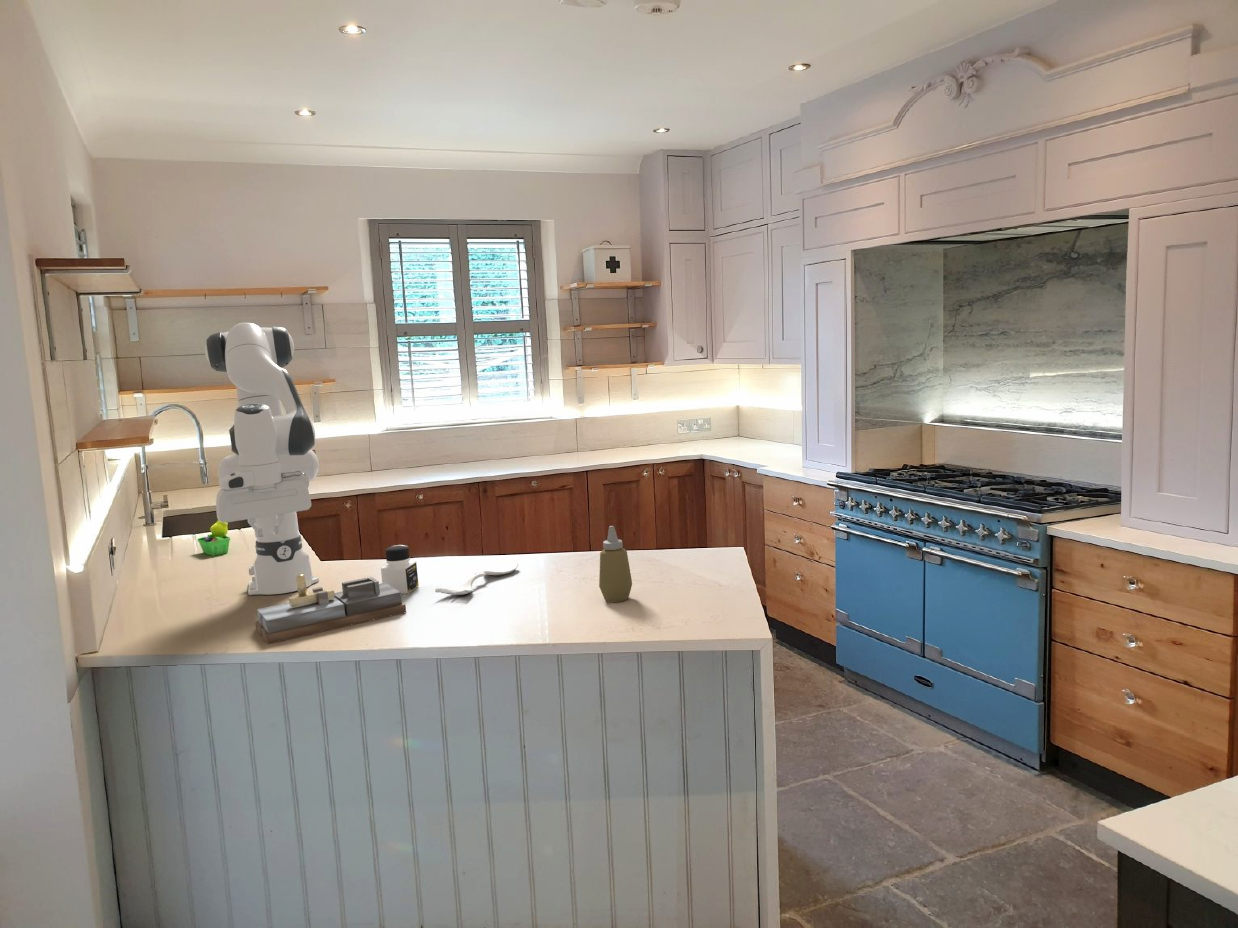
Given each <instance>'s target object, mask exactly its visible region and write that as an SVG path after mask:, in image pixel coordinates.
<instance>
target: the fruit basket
mask: <svg viewBox="0 0 1238 928" xmlns="http://www.w3.org/2000/svg"><path fill="white" fill-rule="evenodd" d="M228 525H229V522H227V523H222V522H221V521H219V520H218V519H217V520H216V522H215V523H213V524H212V525H211V527H209V531H210V533H211V534H207V536H203V537H199V538H197V542H198V543H199V545H200V548H201V550H202V552H203V554H207V555H209V556H211V557H213V556H214V557H215V556H218V555H223V554H227V553H229V547H230V541H231V537H229V536H227V534H228V531H229V528H228Z"/></svg>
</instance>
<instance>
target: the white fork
mask: <svg viewBox="0 0 1238 928" xmlns="http://www.w3.org/2000/svg"><path fill="white" fill-rule="evenodd" d="M518 566H519V563H518V562H517V561H515V560H502V561H499V562H495V563H493V564H490V565H489V566H487V567H486V568H485V569H483V570H482V571H478V572H475V573H474V575H472V576H471V577H470V578H469V579H468V581H466V582H465V584H463V585H462V586H461V585H460V586H459V587H452V588H436V589H435V593H441V594H445V595H451V596H453V595H454V596H465V595H467V594H469V593H471V592H473V587H472V586H473V584H474V582H475V581H476V580H477V579H479V578H481V577H485V576H486V575H489V576H503V575H507V574H509V573H511V572H513V571H515V570H516V569H517V568H518Z"/></svg>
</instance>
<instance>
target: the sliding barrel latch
mask: <svg viewBox="0 0 1238 928" xmlns="http://www.w3.org/2000/svg"><path fill="white" fill-rule="evenodd" d="M379 581H380V580H377V579H375V578H373V577H372V576H368V577H363V578H358V579H352V580H349V581H348V580H347V581H343V582H341V589H342V591H338V592H334V595H335V599H330V600H328V592H327V591H326V590H327V589H323V587H322V586H319V587H313V588H312V593H313V592H317V595H318V602H316V603H311V604H306V605H301V606H297V607H291V606H290V604H289V602H285V603H281V604H276V605H271V606H266V607H260V608H256V616H257V620H255V621H254V623H255V628H256V631H257V632H258V633H259V635H260V636H262V638H263V639H264V640H265V642H267V644H274V643H277V642H278V643H279V642H282V641H286V640H291V639H296V638H299V637H304V636H305V637H306V636H309V635H312V634H317V633H321V632H325V631H331V630H334V628H336V629H339V628H343V627H344V628H345V627H348V625H349V626H352V625H351V624H353V625H356V624H361V623H365V622H366V621H367V622H371V621H374V620H373V619H375V620H378V619H379V620H380V619H383V618H388V617H387V616H389V617H391V616H390V615H393V616H396V615H402V614H405V613H404V612H406V613H407V606H406V603H404V602H403V601H402V600H403V599H402V594H401V592H400V591H398V590H396V589H395V588H393V587H391V586H390V585H388V584H386V583H382V582H381V583H380V582H379ZM323 590H325V591H323ZM318 591H320V592H318ZM401 613H402V614H401ZM370 620H371V621H370Z"/></svg>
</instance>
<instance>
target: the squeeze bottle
mask: <svg viewBox="0 0 1238 928" xmlns="http://www.w3.org/2000/svg"><path fill="white" fill-rule="evenodd" d="M602 546H603V547H602V548H603V549H602V550H601V551H600V553H599V583H598V585H599V586H598V587H599V589H600V591H601V594H602V596H603V598H604V601H606V602H610V603H611V602H612V603H619V602H623V601H627V600H628V599H629V598H630V595H631V594H630V593H631V591H632V586H633V580H632V574H631V569H630V568H631V566H630V562H629V556H628V551H627V550H626V549H625V548H623V546H624V545H623V540H622V539H620V538H619V539H618V535H617V531H616V529H615V525H610V526H609V527H608V533H607V539H606V540H604V541H603V542H602Z"/></svg>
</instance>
